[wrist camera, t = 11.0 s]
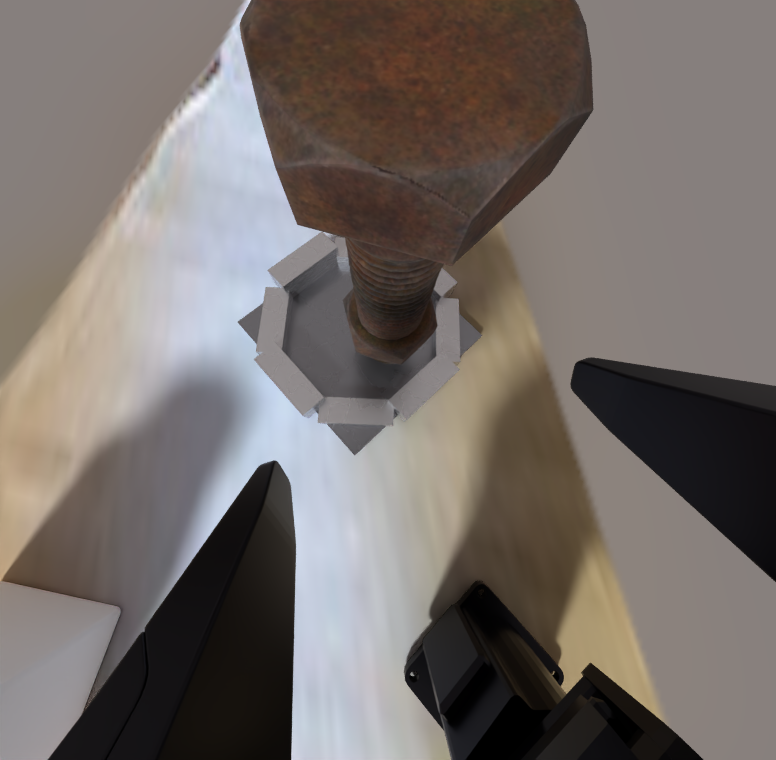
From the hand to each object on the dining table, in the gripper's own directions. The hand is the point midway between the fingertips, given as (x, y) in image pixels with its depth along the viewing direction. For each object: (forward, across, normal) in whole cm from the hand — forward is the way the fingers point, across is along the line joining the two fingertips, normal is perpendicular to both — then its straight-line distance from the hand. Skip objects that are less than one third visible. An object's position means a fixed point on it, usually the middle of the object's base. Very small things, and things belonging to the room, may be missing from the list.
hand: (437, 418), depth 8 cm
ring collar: (+13, 0, +2) cm, 13 cm away
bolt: (+11, -1, +3) cm, 12 cm away
